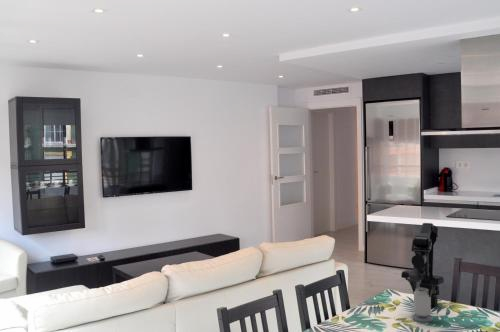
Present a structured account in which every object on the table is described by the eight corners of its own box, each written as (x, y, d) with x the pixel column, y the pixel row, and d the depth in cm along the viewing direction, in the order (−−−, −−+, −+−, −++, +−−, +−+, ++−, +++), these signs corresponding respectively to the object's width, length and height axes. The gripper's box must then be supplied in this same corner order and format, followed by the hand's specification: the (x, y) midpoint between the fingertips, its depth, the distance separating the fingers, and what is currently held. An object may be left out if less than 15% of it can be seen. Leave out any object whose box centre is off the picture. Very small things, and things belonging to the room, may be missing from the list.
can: (428, 311, 231) (428, 286, 230) (432, 317, 223) (432, 291, 223) (412, 311, 232) (412, 286, 231) (416, 317, 224) (415, 291, 224)
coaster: (408, 319, 228) (408, 316, 228) (418, 314, 234) (418, 311, 234) (426, 324, 221) (426, 321, 221) (436, 318, 227) (436, 316, 227)
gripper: (394, 262, 228) (395, 294, 229) (432, 269, 214) (432, 303, 215) (407, 257, 235) (407, 289, 236) (444, 264, 221) (444, 298, 222)
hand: (422, 295), depth 227 cm, fingers closed on can, 7 cm apart
